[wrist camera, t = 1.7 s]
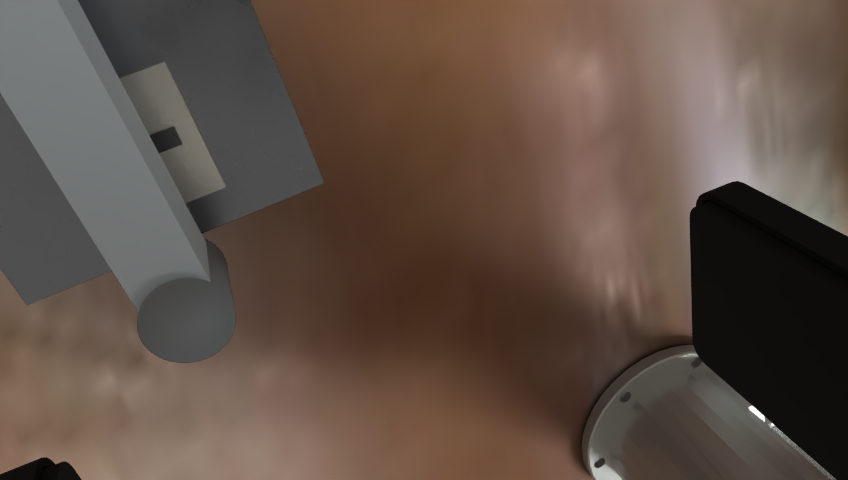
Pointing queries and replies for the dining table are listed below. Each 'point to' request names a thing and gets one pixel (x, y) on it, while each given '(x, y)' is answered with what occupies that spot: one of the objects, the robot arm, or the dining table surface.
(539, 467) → the dining table surface
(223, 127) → the chassis
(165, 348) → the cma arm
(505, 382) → the dining table surface
